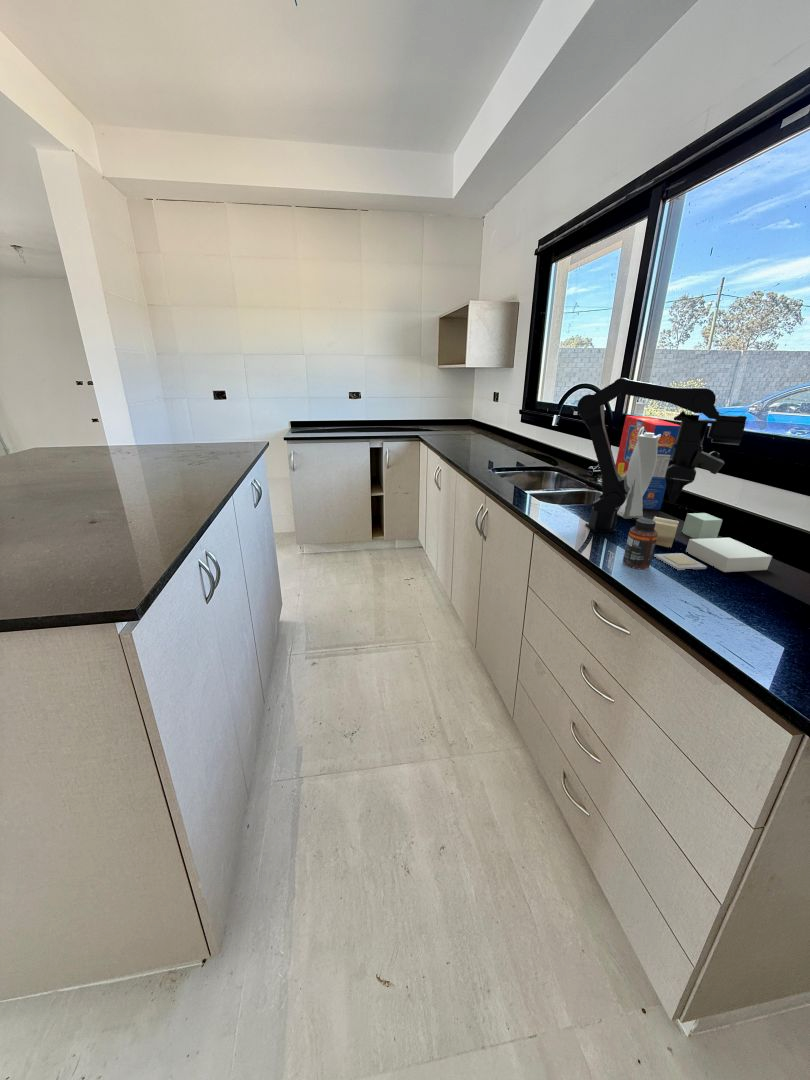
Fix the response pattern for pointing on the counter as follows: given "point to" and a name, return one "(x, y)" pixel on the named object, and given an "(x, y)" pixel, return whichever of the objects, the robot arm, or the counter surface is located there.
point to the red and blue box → (664, 453)
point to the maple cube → (665, 531)
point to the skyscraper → (639, 474)
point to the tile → (680, 561)
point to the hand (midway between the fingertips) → (672, 499)
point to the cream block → (728, 554)
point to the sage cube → (701, 525)
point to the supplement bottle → (640, 544)
